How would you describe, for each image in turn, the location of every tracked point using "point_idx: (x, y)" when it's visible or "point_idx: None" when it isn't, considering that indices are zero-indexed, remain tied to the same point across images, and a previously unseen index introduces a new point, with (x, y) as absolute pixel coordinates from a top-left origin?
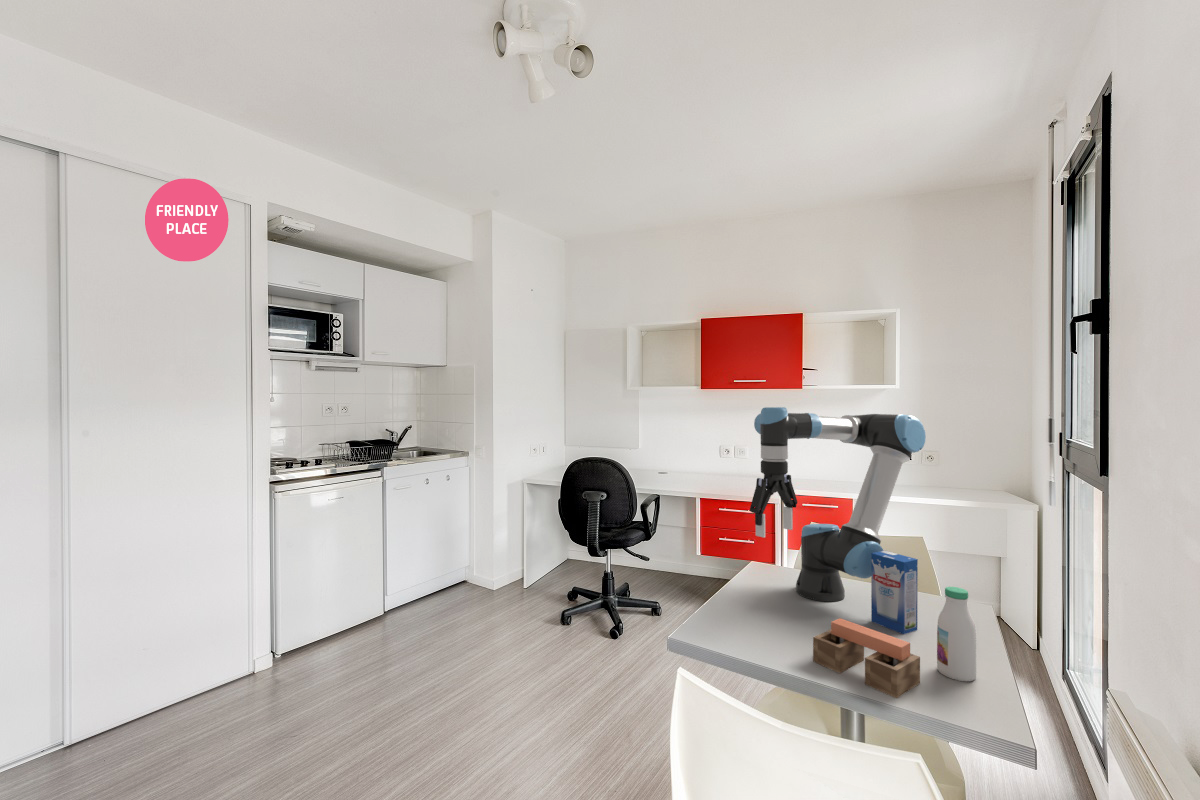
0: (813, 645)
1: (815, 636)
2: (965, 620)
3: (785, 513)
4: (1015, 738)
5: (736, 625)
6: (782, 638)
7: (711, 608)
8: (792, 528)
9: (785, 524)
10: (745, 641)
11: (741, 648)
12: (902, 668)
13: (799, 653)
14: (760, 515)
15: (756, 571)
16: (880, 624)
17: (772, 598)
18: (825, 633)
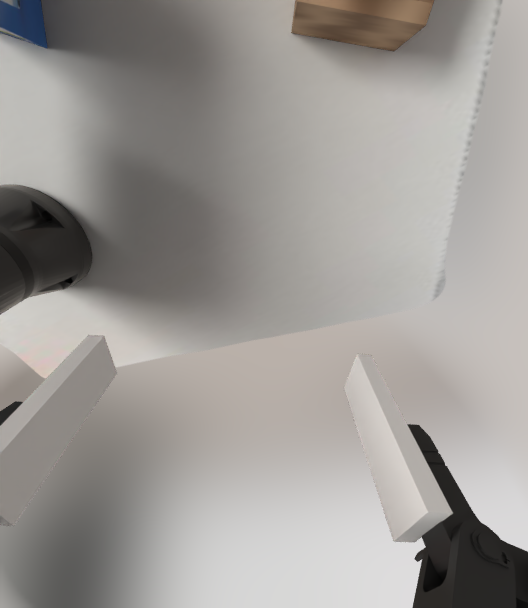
0: (413, 34)
1: (415, 22)
2: None
3: (47, 453)
4: None
5: (320, 270)
6: (318, 177)
7: (284, 331)
8: (85, 339)
9: (98, 382)
10: (377, 223)
11: (411, 212)
12: None
13: (368, 105)
14: (453, 509)
15: None
16: (41, 8)
17: (157, 290)
18: (375, 5)
